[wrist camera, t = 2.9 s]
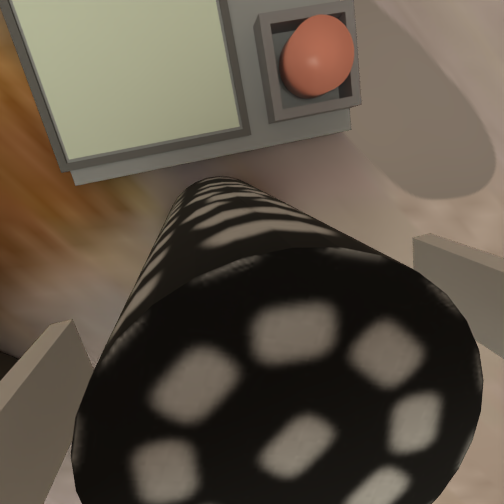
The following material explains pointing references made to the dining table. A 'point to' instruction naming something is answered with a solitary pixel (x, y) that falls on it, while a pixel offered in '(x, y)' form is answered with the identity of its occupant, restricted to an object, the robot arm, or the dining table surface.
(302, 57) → the button
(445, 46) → the dining table surface
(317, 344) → the white-spotted black cylinder
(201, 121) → the picture board
